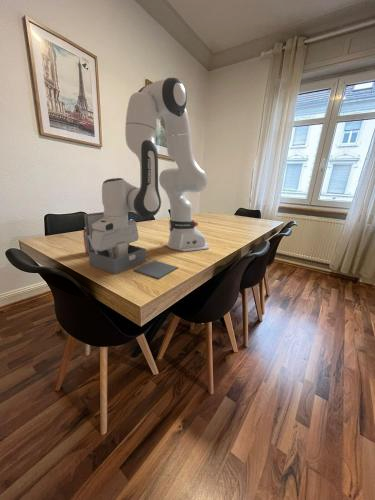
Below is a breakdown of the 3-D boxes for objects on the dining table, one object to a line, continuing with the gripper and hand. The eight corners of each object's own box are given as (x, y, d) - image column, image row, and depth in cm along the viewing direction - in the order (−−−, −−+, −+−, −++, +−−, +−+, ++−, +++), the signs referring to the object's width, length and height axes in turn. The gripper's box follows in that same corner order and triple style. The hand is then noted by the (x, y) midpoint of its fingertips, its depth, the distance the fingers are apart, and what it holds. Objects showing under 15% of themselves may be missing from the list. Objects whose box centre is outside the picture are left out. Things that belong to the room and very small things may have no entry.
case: (147, 261, 88) (146, 214, 82) (116, 274, 75) (111, 219, 68) (122, 253, 96) (119, 210, 89) (89, 265, 82) (83, 214, 76)
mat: (154, 261, 88) (154, 260, 88) (178, 268, 82) (178, 267, 82) (134, 270, 78) (134, 269, 78) (158, 279, 73) (158, 277, 72)
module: (128, 262, 86) (127, 241, 83) (119, 266, 82) (118, 244, 79) (118, 259, 89) (117, 239, 86) (109, 262, 85) (108, 241, 82)
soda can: (100, 255, 93) (98, 229, 89) (83, 255, 91) (80, 229, 88) (103, 250, 99) (101, 225, 96) (87, 250, 98) (84, 225, 94)
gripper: (130, 218, 90) (132, 248, 94) (87, 225, 73) (91, 261, 78) (141, 219, 87) (142, 250, 91) (98, 227, 70) (102, 265, 75)
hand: (118, 255), depth 84 cm, fingers closed on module, 4 cm apart
